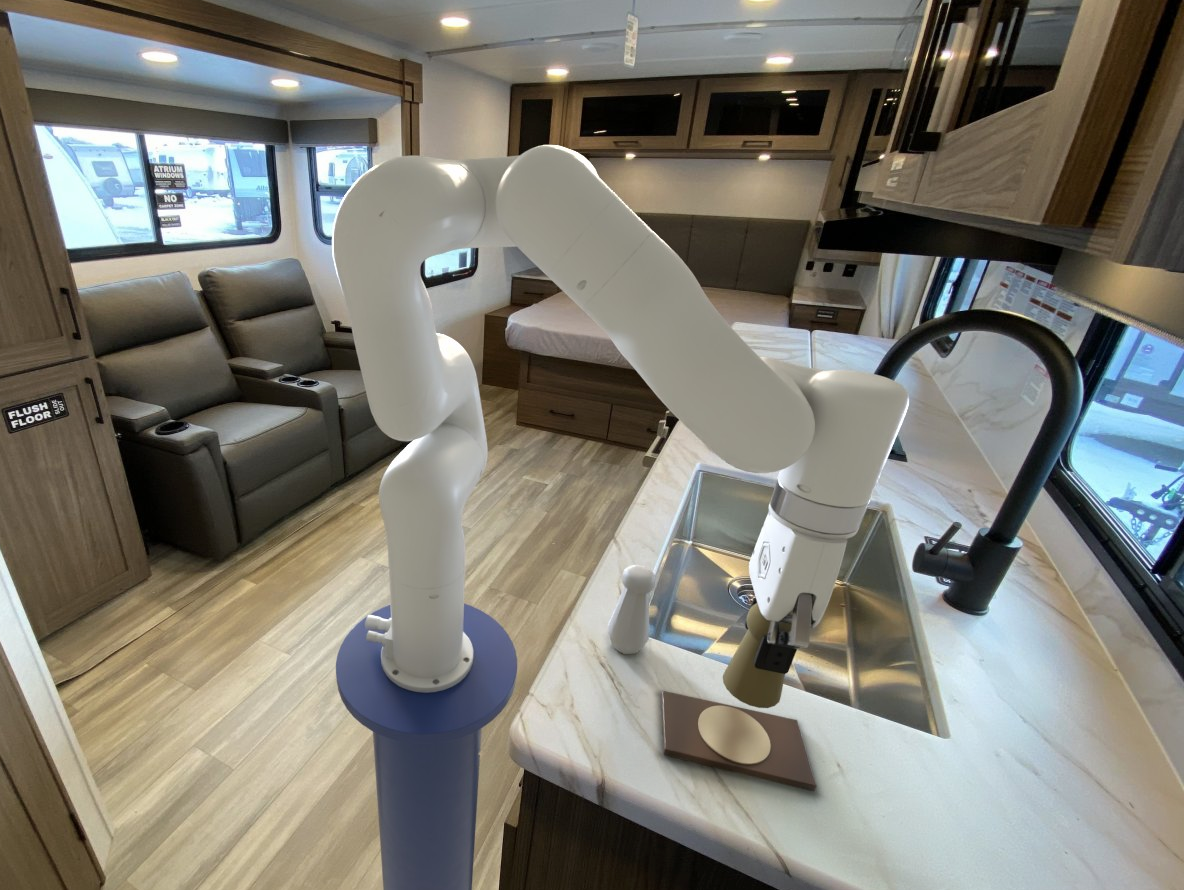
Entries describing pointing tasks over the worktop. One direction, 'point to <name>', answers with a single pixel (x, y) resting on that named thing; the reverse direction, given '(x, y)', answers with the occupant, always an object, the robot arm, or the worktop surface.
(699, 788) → the worktop surface
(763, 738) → the serving board
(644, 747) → the worktop surface
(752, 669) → the pepper shaker
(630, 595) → the salt shaker
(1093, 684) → the worktop surface
